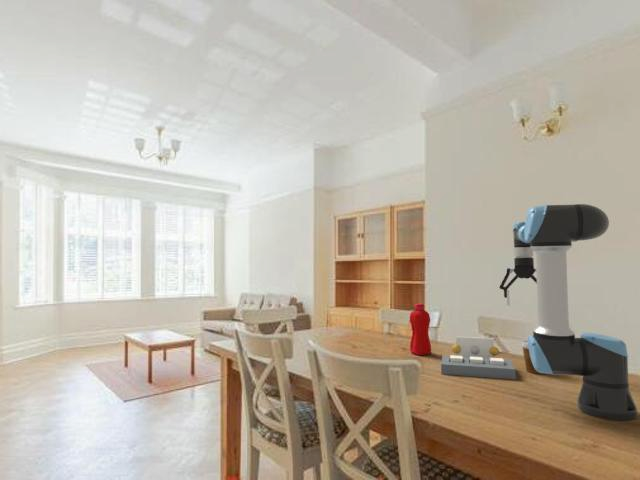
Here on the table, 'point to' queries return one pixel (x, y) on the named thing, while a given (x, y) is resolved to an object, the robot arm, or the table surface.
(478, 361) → the button middle
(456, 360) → the button left
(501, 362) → the button right
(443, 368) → the button board
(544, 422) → the table surface
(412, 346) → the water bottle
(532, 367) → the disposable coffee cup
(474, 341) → the pattern sign
